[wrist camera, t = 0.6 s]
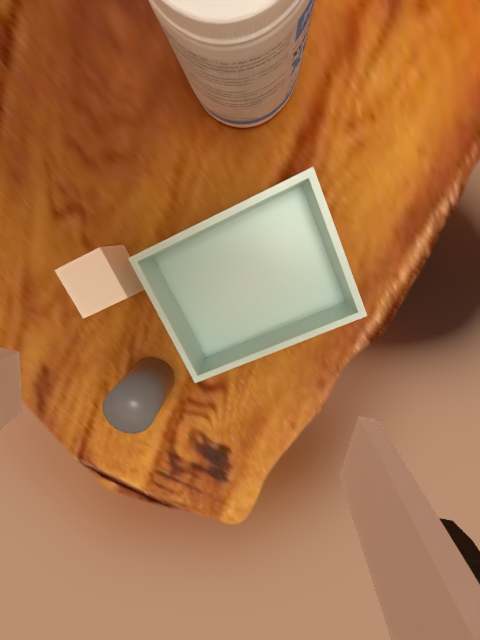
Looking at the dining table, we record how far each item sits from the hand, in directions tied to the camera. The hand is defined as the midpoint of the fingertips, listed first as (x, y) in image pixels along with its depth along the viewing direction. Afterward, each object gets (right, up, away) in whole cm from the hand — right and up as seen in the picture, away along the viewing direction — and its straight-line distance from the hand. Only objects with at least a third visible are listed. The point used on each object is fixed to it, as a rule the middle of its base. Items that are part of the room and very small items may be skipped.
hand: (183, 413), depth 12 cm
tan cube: (-11, +8, +21) cm, 25 cm away
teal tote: (+3, +8, +20) cm, 22 cm away
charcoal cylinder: (-8, -3, +24) cm, 25 cm away
